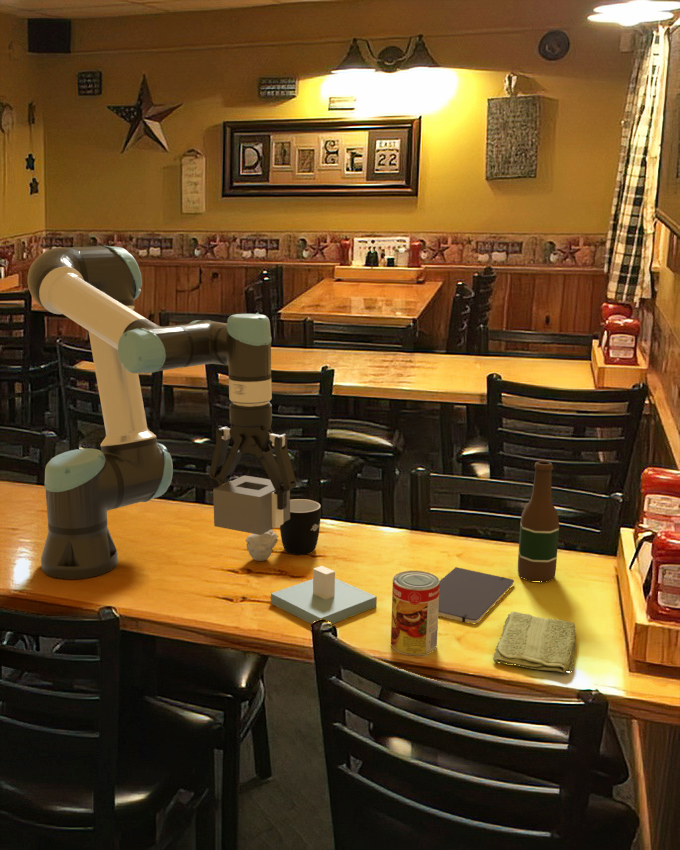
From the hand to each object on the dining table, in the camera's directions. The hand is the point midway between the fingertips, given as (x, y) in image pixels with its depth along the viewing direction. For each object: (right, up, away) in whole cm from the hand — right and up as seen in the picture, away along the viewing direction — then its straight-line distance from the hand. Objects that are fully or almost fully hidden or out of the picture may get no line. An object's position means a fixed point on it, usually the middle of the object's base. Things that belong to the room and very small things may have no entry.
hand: (252, 521), depth 170 cm
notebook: (+40, -16, +9) cm, 44 cm away
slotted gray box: (0, 0, 0) cm, 0 cm away
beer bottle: (+56, -13, +19) cm, 61 cm away
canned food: (+29, -20, -11) cm, 37 cm away
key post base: (+13, -16, +4) cm, 21 cm away
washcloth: (+50, -21, -11) cm, 55 cm away
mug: (+8, -9, +32) cm, 35 cm away
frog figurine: (0, -11, +25) cm, 27 cm away
